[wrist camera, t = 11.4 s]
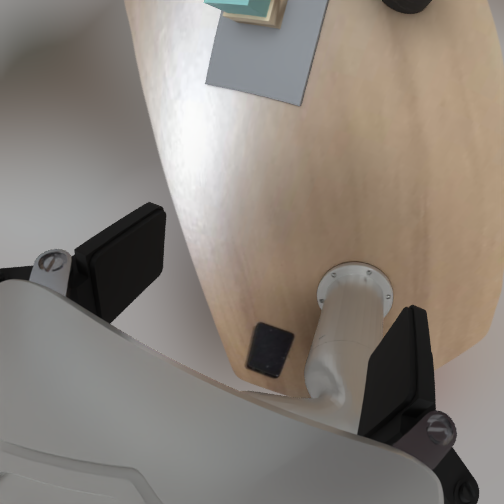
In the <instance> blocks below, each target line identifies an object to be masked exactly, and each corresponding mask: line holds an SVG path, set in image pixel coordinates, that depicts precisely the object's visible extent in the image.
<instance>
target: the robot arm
mask: <svg viewBox="0 0 504 504" xmlns="http://www.w3.org/2000/svg"><path fill="white" fill-rule="evenodd" d="M165 225H166V213H165V212H164V210H163V207H161V206H159V205H156V204H153V203H151V202H148V203H146V204H144V205H143V206H142V207H139V208H138V209H136V210H135V211H133V212H131V213H130V214H128V215H126V216H125V217H123V218H122V219H120V220H118V221H117V222H115V223H114V224H112V225H111V226H109V227H107V228H106V229H104V230H103V231H101V232H100V233H98V234H97V235H95V236H94V237H92V238H91V239H89V240H88V241H86V242H85V243H83V244H82V245H80V246H79V247H77V248H76V249H75V255H74V256H72V257H71V255H70V254H69V253H68V252H66V251H64V250H61V249H54V250H48V251H45V252H44V253H42V254H40V255H39V256H38V258H37V259H36V260H35V263H34V266H24V267H13V268H1V269H0V504H477V501H478V498H479V488H478V484H477V482H476V480H475V479H474V477H473V476H472V475H471V473H470V472H469V470H468V469H467V467H466V466H465V464H464V463H463V462H462V460H461V459H460V457H459V456H458V455H457V453H456V452H455V450H454V449H453V448H452V446H453V445H454V443H455V441H456V437H457V432H456V427H455V424H454V422H453V421H452V419H451V418H450V417H449V416H448V415H447V414H446V413H444V412H442V411H437V410H436V405H435V382H434V367H433V356H432V352H431V345H430V336H429V328H428V320H427V313H426V310H424V309H422V308H419V307H417V306H414V305H411V306H410V307H409V308H408V307H405V308H404V309H403V310H402V312H401V313H400V315H399V316H398V318H397V319H396V321H395V322H394V323H393V325H392V326H391V328H390V329H389V331H388V332H387V334H386V335H385V336H384V338H383V318H384V317H385V316H386V315H387V314H388V312H389V311H390V309H391V307H392V303H393V289H392V286H391V283H390V281H389V279H388V278H387V276H386V275H385V274H384V273H383V272H382V271H380V270H379V269H377V268H376V267H374V266H371V265H369V264H365V263H360V262H349V263H344V264H340V265H338V266H336V267H333V268H332V269H331V270H329V271H328V272H327V273H326V274H325V275H324V276H323V278H322V279H321V281H320V283H319V286H318V290H317V301H318V304H319V307H320V309H321V315H320V318H319V322H318V325H317V329H316V332H315V335H314V339H313V342H312V345H311V349H310V352H309V355H308V358H307V362H306V365H305V370H304V378H305V384H306V387H307V389H308V392H309V394H310V396H311V397H312V398H296V397H288V396H281V395H274V394H267V393H261V392H252V391H238V390H235V389H233V388H231V387H229V386H226V385H224V384H222V383H220V382H218V381H216V380H213V379H211V378H209V377H207V376H205V375H203V374H201V373H199V372H197V371H195V370H193V369H191V368H188V367H187V366H185V365H182V364H181V363H179V362H177V361H175V360H173V359H171V358H169V357H167V356H165V355H163V354H162V353H160V352H158V351H156V350H154V349H152V348H151V347H149V346H147V345H145V344H143V343H141V342H140V341H138V340H136V339H134V338H133V337H131V336H129V335H128V334H126V333H124V332H122V331H121V330H119V329H117V328H116V327H114V326H112V325H111V324H110V323H111V322H112V321H113V320H114V319H115V318H116V317H117V316H118V315H119V314H120V313H121V312H122V311H123V310H124V309H125V308H126V307H128V305H130V303H132V302H133V301H134V299H136V298H137V297H138V296H139V295H140V294H141V293H142V292H143V291H144V290H145V289H146V288H147V287H148V286H149V285H150V284H151V283H152V282H153V281H154V280H155V279H156V278H157V277H159V275H160V274H161V272H162V269H163V255H164V239H165ZM369 270H370V271H369Z"/></svg>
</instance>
